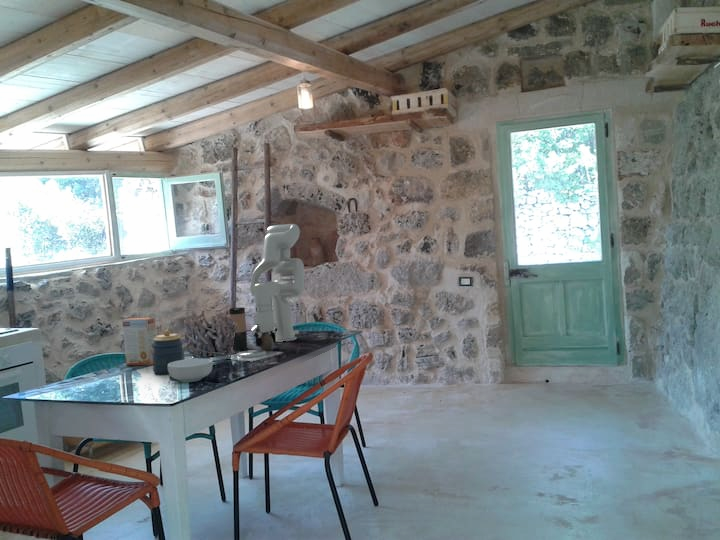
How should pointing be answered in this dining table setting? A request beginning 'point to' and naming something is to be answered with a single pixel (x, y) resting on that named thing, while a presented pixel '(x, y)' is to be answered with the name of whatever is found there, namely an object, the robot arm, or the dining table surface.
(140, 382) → the dining table surface
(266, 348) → the vase
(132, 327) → the cracker box
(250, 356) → the flange plate
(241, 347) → the travel mug
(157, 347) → the canister
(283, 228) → the robot arm
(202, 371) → the cereal bowl
